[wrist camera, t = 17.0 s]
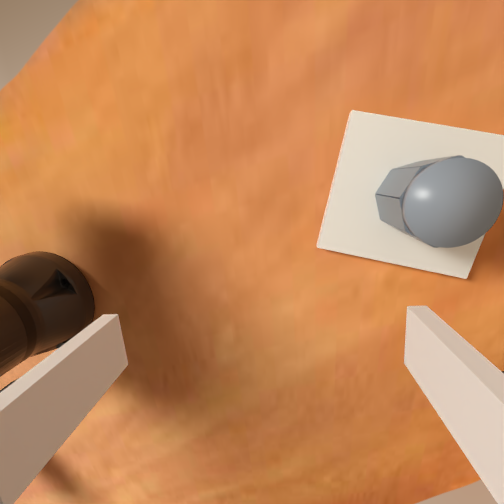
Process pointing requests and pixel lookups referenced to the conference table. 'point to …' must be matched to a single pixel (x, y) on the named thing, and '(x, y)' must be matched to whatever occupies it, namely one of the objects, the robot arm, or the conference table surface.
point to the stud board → (373, 174)
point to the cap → (441, 200)
